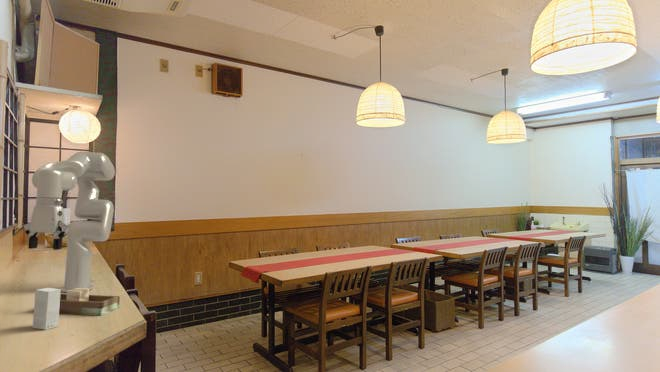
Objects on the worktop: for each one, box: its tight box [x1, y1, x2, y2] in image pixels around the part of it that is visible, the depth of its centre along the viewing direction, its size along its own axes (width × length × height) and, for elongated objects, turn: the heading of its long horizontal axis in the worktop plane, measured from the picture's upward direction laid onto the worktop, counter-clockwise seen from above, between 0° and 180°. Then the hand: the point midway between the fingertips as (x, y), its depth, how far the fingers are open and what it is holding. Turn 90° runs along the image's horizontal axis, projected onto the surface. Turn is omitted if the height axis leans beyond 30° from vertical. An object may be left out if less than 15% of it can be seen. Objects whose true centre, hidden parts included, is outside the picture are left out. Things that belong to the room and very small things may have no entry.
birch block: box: [66, 288, 90, 301], centre depth 141 cm, size 5×5×5 cm
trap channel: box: [59, 292, 121, 317], centre depth 141 cm, size 10×25×4 cm, turn 87°
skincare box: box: [32, 287, 62, 331], centre depth 121 cm, size 6×4×12 cm
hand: (44, 248), depth 140 cm, fingers open, 9 cm apart
